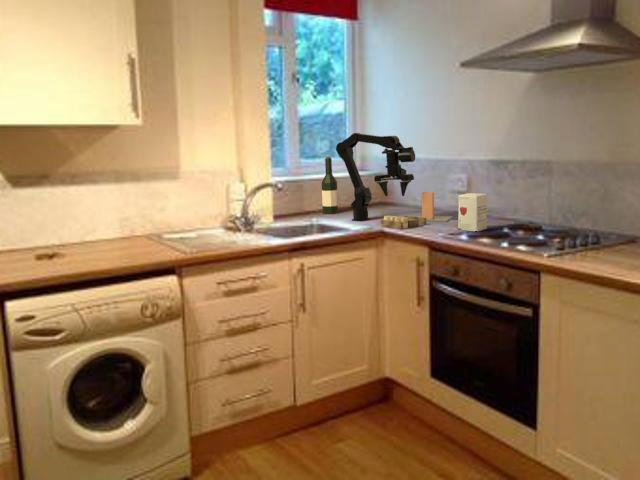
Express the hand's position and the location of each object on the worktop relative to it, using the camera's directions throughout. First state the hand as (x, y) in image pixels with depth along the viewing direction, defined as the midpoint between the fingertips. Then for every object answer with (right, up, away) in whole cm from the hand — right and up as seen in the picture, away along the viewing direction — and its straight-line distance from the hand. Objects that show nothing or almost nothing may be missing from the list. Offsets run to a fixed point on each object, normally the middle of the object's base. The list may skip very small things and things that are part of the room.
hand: (394, 196), depth 286 cm
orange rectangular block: (+15, -10, -2) cm, 19 cm away
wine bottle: (-30, -6, +40) cm, 51 cm away
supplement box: (+30, -16, -28) cm, 44 cm away
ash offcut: (-4, -15, -18) cm, 24 cm away
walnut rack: (+3, -15, -17) cm, 23 cm away
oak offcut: (0, -15, -23) cm, 28 cm away
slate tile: (+15, -12, -2) cm, 20 cm away
